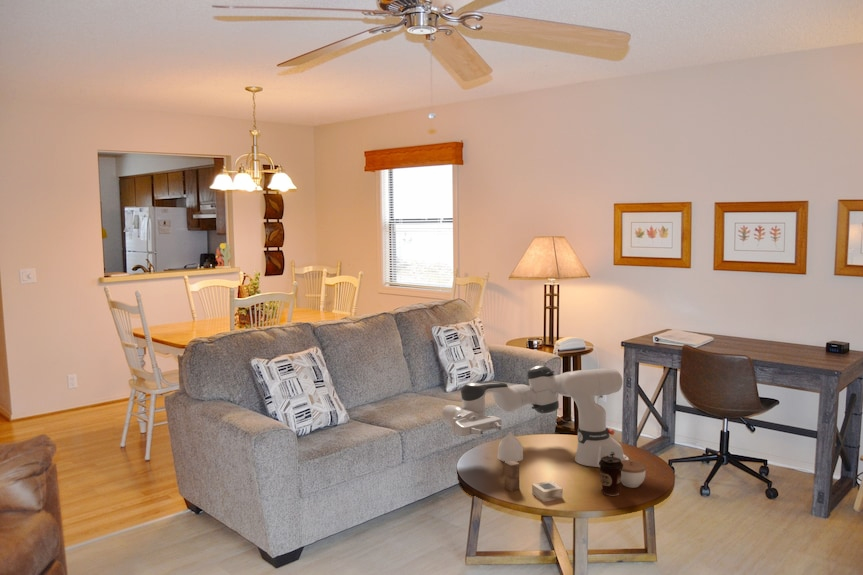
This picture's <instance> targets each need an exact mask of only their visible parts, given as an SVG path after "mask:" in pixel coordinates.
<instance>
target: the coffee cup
mask: <svg viewBox="0 0 863 575" xmlns="http://www.w3.org/2000/svg"><path fill="white" fill-rule="evenodd" d="M599 465H600V468H599V475H600V484H601V493H602V494H603V495H606V496H612V497H615V496H619V495H620V490H619V489H620V487H621V486H620V485H621V481H620V479H621V471H622V468H623V464H622V462H621V460H620V459H619V458H616V457H609V456H605V457H602V458H601V460H600V462H599Z"/></svg>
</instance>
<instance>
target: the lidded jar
mask: <svg viewBox="0 0 863 575" xmlns="http://www.w3.org/2000/svg"><path fill="white" fill-rule="evenodd" d="M621 462H622V464H623V468H622V471H621V479H620V483H621V484H622V485H623V486H624V487H627V488H632V489H633V488H635V489H636V488H639V487H640V486H641V485H642V483H643V482H644V481H645V478H646V474H647V473H646V472H647V471H646V470H647V466H646V464H645V463H643V462H641V461H638V460H631V459H629V460H623V461H621Z"/></svg>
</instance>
